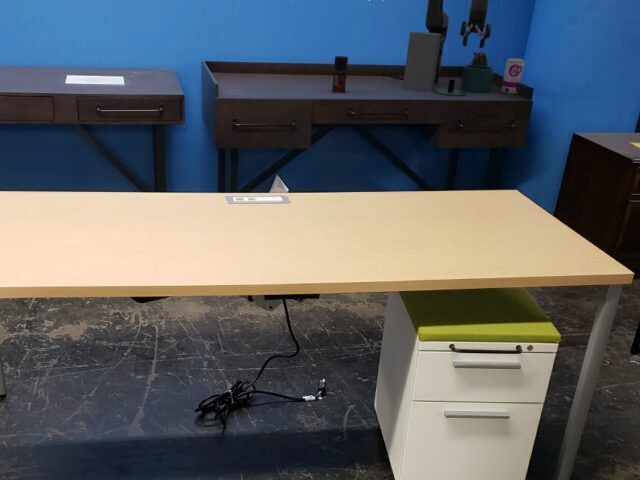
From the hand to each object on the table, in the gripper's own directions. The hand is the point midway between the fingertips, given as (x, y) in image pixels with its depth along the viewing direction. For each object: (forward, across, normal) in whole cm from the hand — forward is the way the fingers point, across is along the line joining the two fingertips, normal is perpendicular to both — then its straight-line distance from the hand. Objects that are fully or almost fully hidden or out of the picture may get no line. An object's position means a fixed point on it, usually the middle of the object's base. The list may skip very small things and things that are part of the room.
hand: (472, 47), depth 361 cm
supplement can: (+20, -14, -18) cm, 30 cm away
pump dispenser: (+20, +9, -26) cm, 34 cm away
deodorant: (+20, +38, +50) cm, 66 cm away
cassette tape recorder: (+20, +18, +13) cm, 30 cm away
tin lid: (+20, +2, +10) cm, 22 cm away
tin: (+20, -1, -6) cm, 21 cm away
